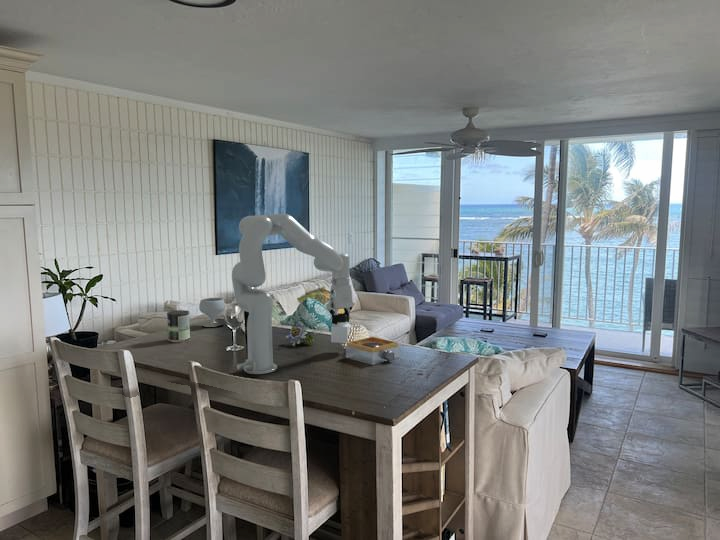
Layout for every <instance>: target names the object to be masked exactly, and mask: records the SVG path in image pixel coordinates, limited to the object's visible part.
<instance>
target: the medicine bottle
mask: <svg viewBox="0 0 720 540" xmlns="http://www.w3.org/2000/svg"><path fill="white" fill-rule="evenodd" d="M343 313H344V312H343ZM343 313H341V312H337V314H336V315H337V316H338V320H337V324H332V325H331V326H330V342H331V343H343V344H344V343H345V344H347V343H348V342H349V340H348V335H349V336H350V323H348V322H347V315H346V314H343Z"/></svg>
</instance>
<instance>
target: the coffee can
mask: <svg viewBox="0 0 720 540" xmlns="http://www.w3.org/2000/svg"><path fill="white" fill-rule="evenodd" d="M166 317H167V336H168V337H167V338H168V339H170V340H185V339H188V338H190V339H191V334H190V333H191V331H190V330H191V329H190V311H189V310H183V309H181V310H180V309H179V310H173V311H172V310H171V311H168V312H167V313H166Z"/></svg>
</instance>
